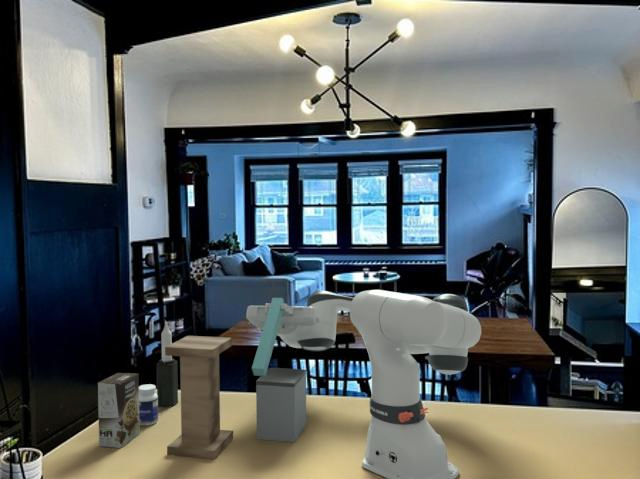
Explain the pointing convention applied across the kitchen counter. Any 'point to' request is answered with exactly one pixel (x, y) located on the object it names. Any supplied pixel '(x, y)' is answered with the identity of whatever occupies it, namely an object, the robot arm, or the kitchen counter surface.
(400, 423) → the robot arm
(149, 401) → the pill bottle
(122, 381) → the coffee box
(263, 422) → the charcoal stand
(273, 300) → the teal bar
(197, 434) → the walnut stand
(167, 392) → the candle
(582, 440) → the kitchen counter surface
